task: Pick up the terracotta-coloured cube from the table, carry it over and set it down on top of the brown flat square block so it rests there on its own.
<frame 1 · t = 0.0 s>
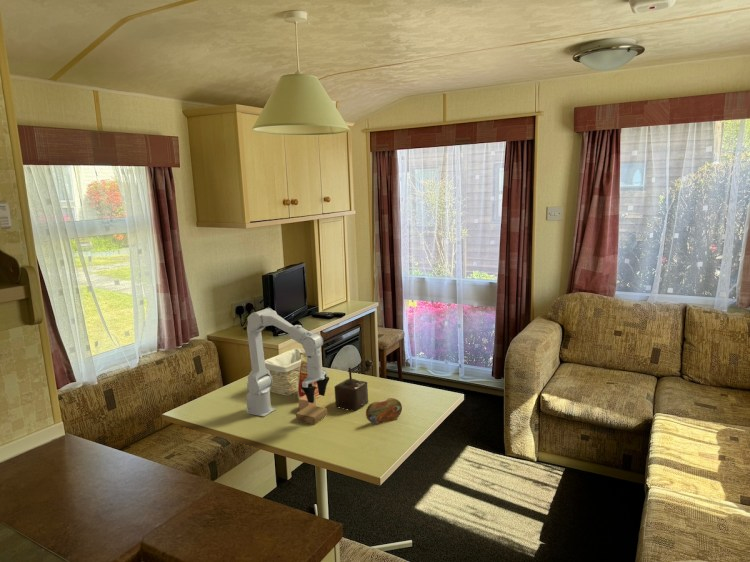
hand: (316, 398, 201), 10 cm above the table, tool pointing down, fingers open, 7 cm apart
storage basket: (292, 386, 244), on the table
tin: (384, 421, 203), on the table
terracotta cube: (307, 408, 217), on the table
milk carton: (311, 395, 232), on the table
dark brown boxy piece: (356, 403, 221), on the table
brown flat square block: (312, 417, 208), on the table
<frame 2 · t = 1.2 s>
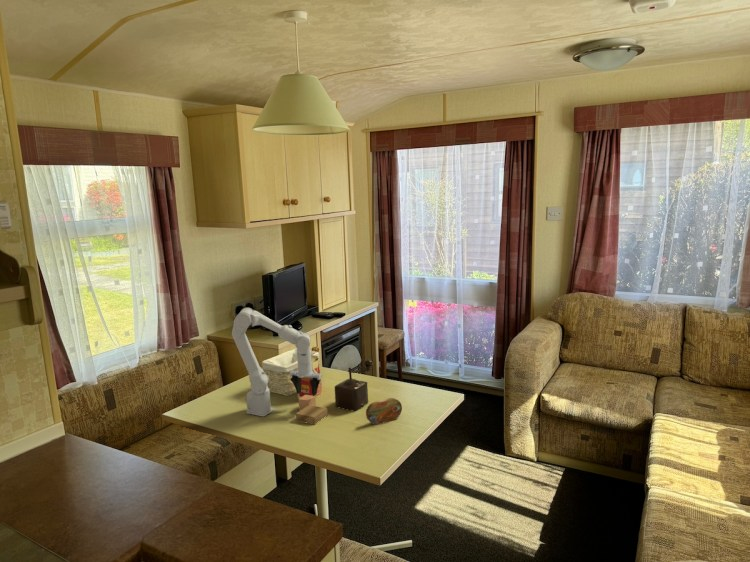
hand: (306, 393, 216), 7 cm above the table, tool pointing down, fingers open, 7 cm apart
nothing on the table moved.
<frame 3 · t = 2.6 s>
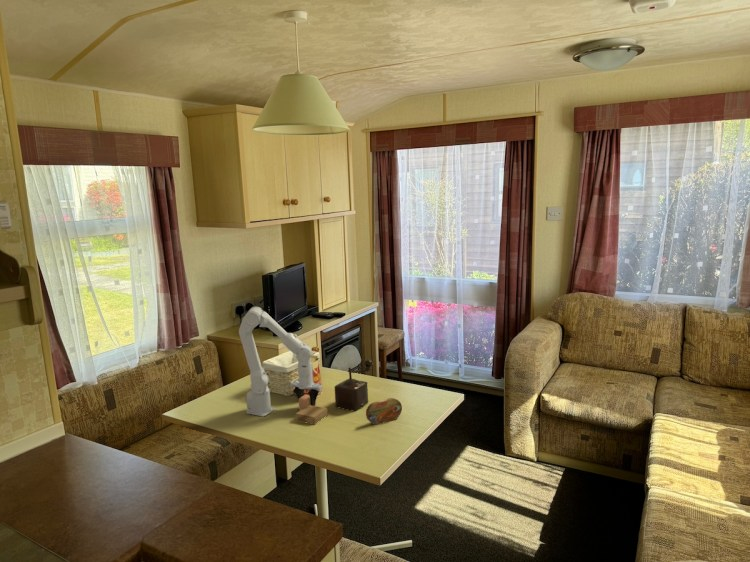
hand: (307, 405, 217), 2 cm above the table, tool pointing down, fingers closed on terracotta cube, 5 cm apart
terracotta cube: (307, 408, 217), on the table, touching gripper
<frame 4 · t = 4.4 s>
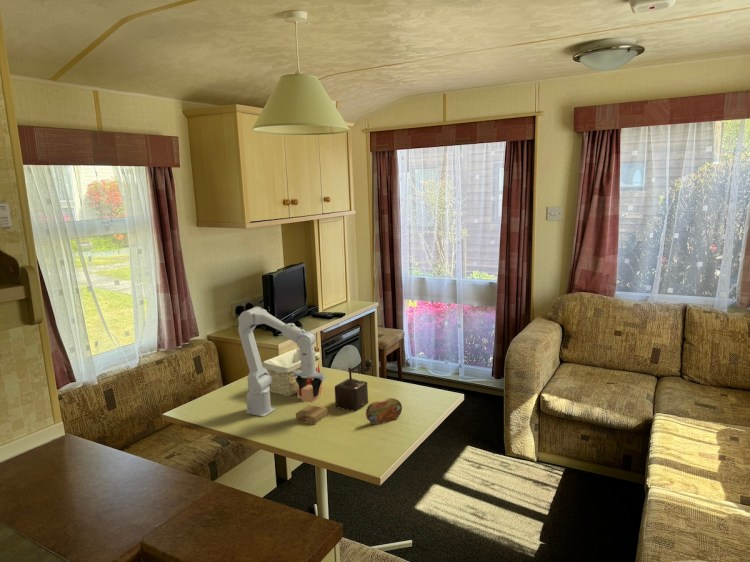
hand: (310, 394, 207), 9 cm above the table, tool pointing down, fingers closed on terracotta cube, 5 cm apart
terracotta cube: (310, 399, 207), point 8 cm above the table, touching gripper
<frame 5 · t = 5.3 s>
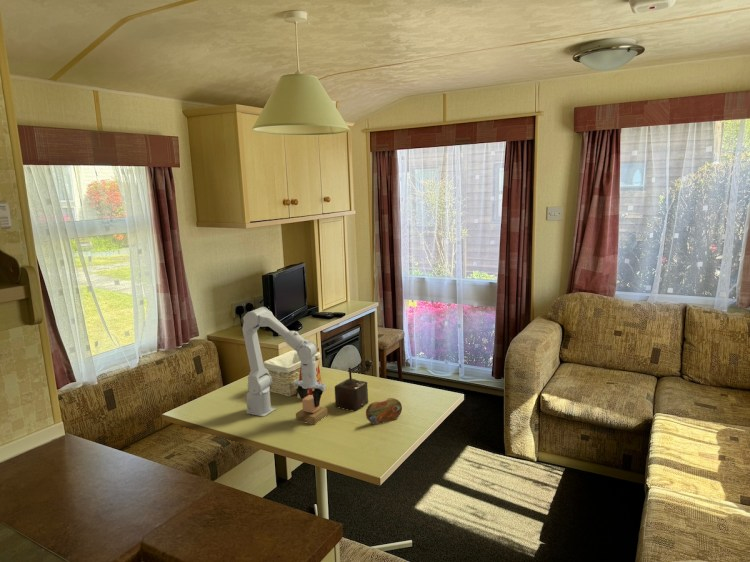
hand: (311, 405, 207), 5 cm above the table, tool pointing down, fingers closed on terracotta cube, 5 cm apart
terracotta cube: (311, 409, 207), point 3 cm above the table, touching gripper
when the fingers open (5 cm above the table, at t = 6.1 s): terracotta cube stays where it is, resting on brown flat square block.
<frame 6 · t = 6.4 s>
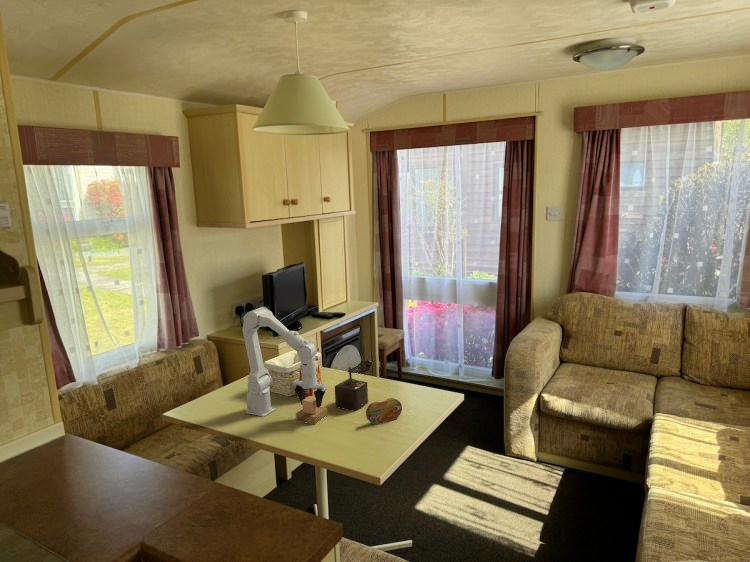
hand: (311, 405, 207), 5 cm above the table, tool pointing down, fingers open, 7 cm apart
terracotta cube: (311, 410, 207), point 3 cm above the table, touching brown flat square block
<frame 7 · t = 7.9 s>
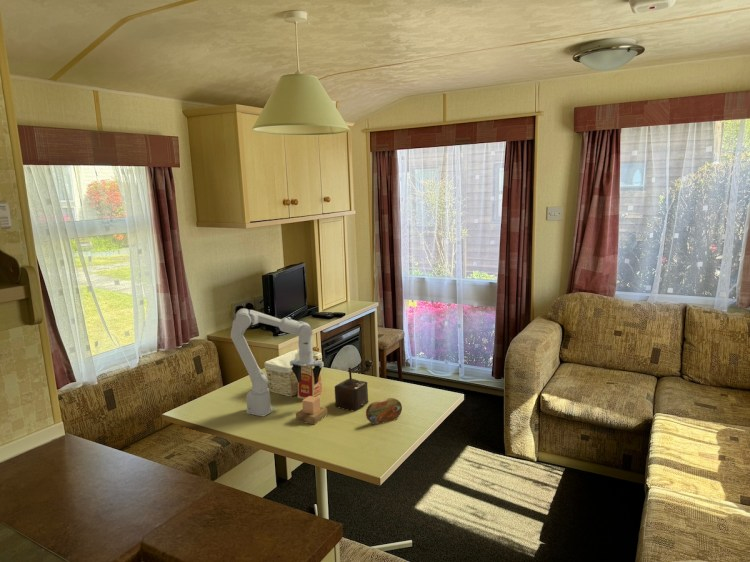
hand: (307, 382, 218), 10 cm above the table, tool pointing down, fingers open, 7 cm apart
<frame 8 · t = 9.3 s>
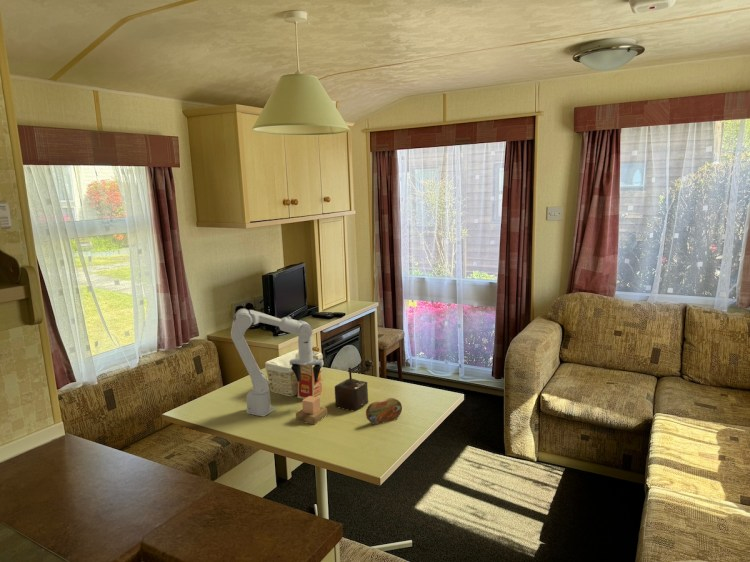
hand: (307, 381, 220), 10 cm above the table, tool pointing down, fingers open, 7 cm apart
at the end: terracotta cube inside the target area on the brown flat square block (0.2 cm from its centre), point 3.0 cm above the brown flat square block's base; terracotta cube tilted 0°; the gripper is holding nothing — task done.
